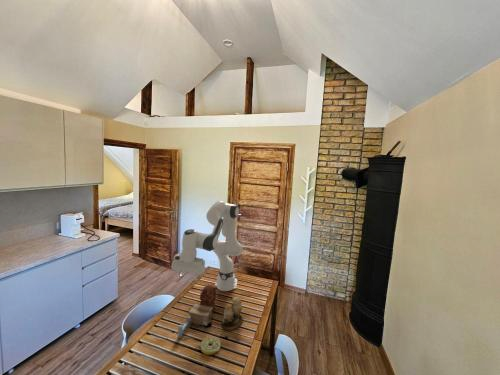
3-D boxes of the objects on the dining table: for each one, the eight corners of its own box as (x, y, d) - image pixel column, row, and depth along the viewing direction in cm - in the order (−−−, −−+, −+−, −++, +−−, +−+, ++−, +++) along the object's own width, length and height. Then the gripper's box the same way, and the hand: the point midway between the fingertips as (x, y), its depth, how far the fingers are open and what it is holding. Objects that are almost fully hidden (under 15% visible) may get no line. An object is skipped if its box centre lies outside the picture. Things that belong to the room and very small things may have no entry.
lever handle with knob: (187, 323, 140) (187, 313, 139) (191, 324, 139) (191, 314, 139) (176, 338, 127) (177, 327, 127) (181, 339, 127) (181, 328, 126)
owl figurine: (232, 312, 154) (234, 288, 153) (247, 318, 148) (248, 294, 147) (216, 327, 139) (217, 301, 137) (232, 335, 133) (233, 308, 131)
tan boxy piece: (194, 313, 150) (194, 303, 150) (212, 317, 148) (213, 307, 147) (184, 327, 137) (185, 316, 136) (204, 331, 134) (204, 320, 134)
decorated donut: (222, 353, 120) (223, 346, 119) (202, 359, 115) (203, 352, 115) (217, 339, 129) (217, 333, 129) (198, 344, 125) (198, 338, 124)
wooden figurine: (205, 316, 147) (206, 291, 146) (198, 313, 151) (199, 287, 149) (217, 308, 157) (218, 283, 156) (210, 304, 161) (211, 280, 159)
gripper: (207, 257, 136) (205, 279, 136) (176, 253, 140) (175, 274, 140) (202, 260, 130) (201, 283, 130) (171, 256, 134) (170, 278, 134)
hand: (187, 279), depth 135 cm, fingers open, 8 cm apart
